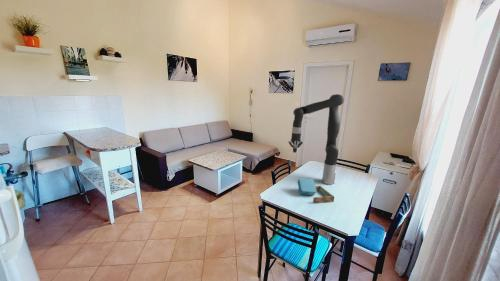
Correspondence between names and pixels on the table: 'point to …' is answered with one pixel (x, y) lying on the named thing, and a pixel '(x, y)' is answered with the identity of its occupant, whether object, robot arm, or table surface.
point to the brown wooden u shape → (328, 197)
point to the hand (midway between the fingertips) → (294, 152)
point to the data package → (306, 186)
